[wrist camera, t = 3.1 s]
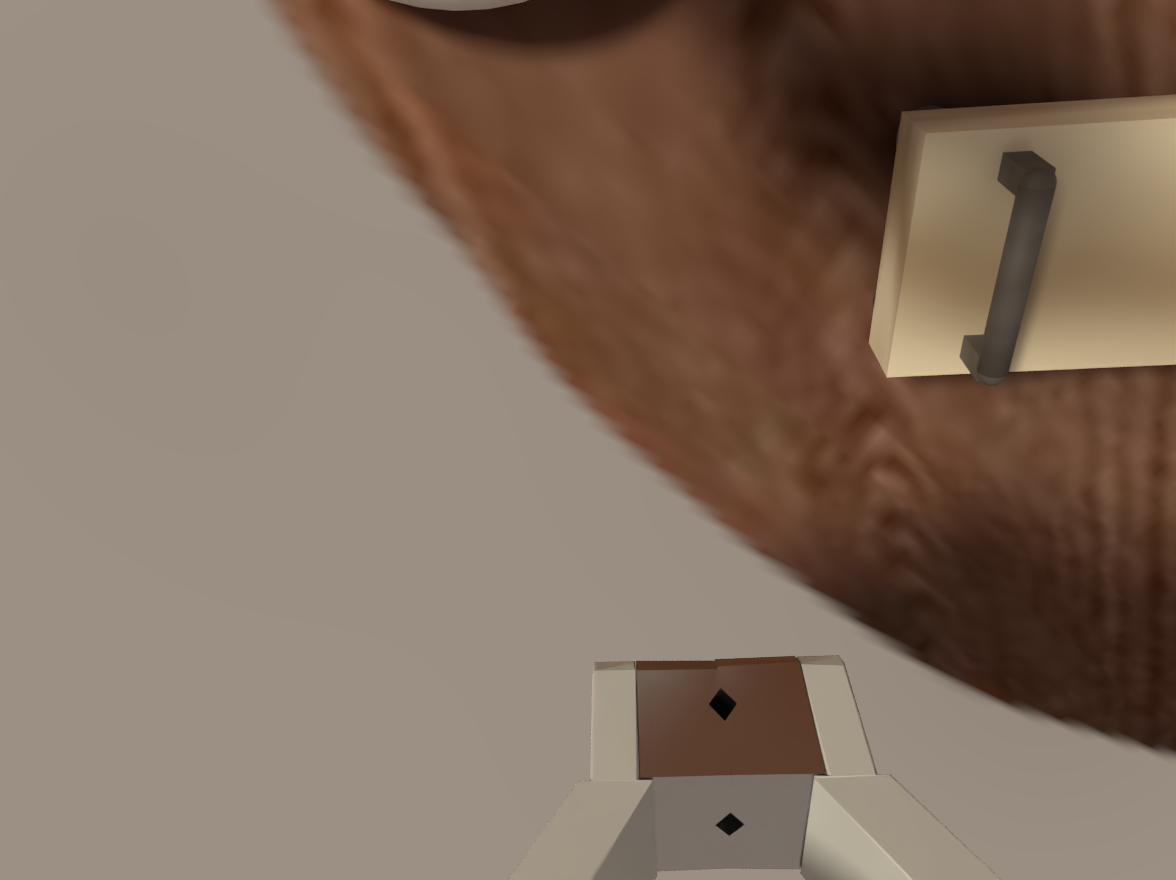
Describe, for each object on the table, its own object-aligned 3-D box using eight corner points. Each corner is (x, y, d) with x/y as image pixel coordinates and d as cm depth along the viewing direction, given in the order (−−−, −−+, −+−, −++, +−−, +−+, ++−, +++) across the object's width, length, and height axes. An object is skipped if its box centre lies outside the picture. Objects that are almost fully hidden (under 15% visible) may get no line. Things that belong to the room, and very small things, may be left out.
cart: (885, 96, 20) (949, 154, 17) (1272, 72, 20) (1432, 126, 16) (856, 319, 24) (904, 410, 20) (1186, 303, 23) (1301, 394, 19)
